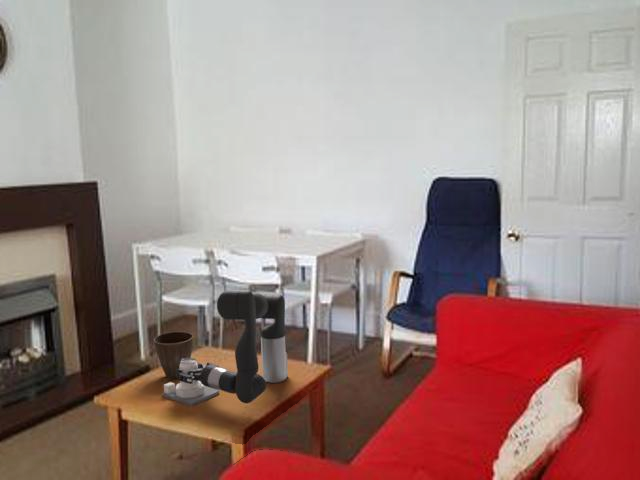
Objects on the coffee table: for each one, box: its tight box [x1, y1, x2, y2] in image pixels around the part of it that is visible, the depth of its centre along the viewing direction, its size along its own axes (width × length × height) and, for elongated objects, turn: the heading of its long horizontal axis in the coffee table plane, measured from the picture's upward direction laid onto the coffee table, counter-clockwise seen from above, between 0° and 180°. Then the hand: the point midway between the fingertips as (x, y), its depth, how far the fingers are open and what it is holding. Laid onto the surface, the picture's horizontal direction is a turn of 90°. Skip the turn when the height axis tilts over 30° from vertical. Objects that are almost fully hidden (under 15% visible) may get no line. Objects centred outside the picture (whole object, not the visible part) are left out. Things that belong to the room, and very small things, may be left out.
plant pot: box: [153, 331, 194, 381], centre depth 242 cm, size 15×15×16 cm
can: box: [179, 357, 199, 390], centre depth 223 cm, size 6×6×12 cm
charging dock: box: [161, 381, 220, 407], centre depth 224 cm, size 13×16×4 cm
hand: (185, 368), depth 224 cm, fingers open, 8 cm apart
